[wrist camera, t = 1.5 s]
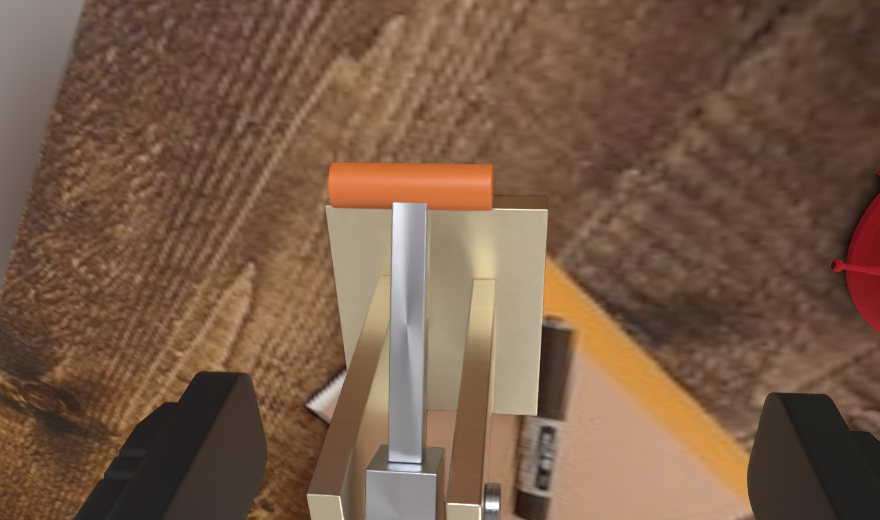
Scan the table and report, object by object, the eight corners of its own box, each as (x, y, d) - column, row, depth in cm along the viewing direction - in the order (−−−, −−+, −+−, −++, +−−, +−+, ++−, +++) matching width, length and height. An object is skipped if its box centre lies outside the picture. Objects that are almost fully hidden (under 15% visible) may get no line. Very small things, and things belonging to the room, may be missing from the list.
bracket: (331, 192, 29) (214, 405, 18) (547, 196, 28) (561, 423, 17) (356, 389, 35) (279, 641, 24) (536, 398, 34) (541, 665, 23)
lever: (343, 165, 23) (323, 158, 20) (494, 167, 22) (491, 161, 20) (338, 521, 23) (318, 555, 21) (485, 531, 23) (481, 568, 20)
